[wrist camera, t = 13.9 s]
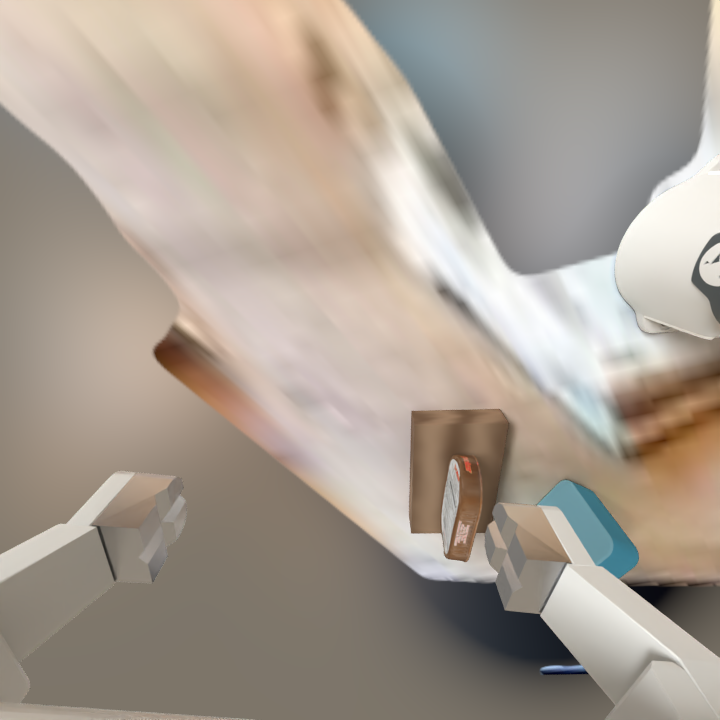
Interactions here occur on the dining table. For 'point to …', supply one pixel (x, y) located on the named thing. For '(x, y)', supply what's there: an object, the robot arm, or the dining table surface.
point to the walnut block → (435, 449)
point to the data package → (594, 527)
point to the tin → (461, 506)
